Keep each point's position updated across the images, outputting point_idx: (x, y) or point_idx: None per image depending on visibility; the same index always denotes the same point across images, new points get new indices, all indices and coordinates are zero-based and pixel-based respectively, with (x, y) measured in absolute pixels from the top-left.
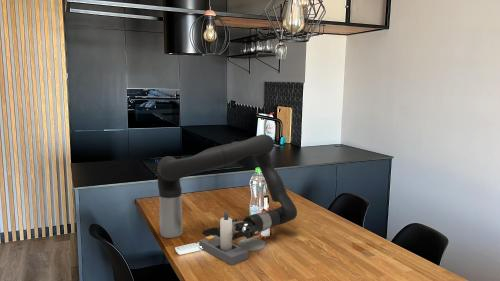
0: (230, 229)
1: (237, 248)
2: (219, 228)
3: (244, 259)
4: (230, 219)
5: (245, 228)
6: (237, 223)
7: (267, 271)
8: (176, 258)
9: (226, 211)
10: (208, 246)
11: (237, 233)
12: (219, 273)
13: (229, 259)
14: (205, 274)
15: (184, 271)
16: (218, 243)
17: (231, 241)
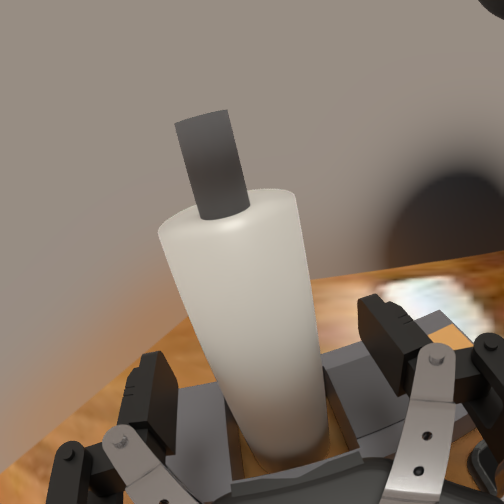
0: (190, 320)
1: (217, 473)
2: (360, 302)
3: None
4: (187, 232)
5: (128, 483)
6: (389, 471)
7: (28, 487)
8: (350, 279)
9: (203, 116)
10: (361, 346)
11: (138, 382)
12: None
13: None
14: (184, 329)
15: None
16: (361, 388)
17: (234, 415)
